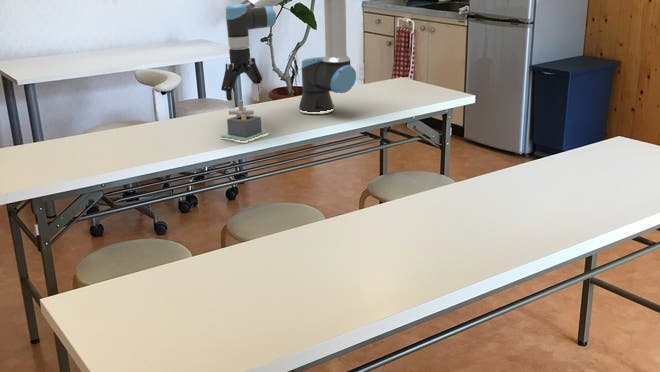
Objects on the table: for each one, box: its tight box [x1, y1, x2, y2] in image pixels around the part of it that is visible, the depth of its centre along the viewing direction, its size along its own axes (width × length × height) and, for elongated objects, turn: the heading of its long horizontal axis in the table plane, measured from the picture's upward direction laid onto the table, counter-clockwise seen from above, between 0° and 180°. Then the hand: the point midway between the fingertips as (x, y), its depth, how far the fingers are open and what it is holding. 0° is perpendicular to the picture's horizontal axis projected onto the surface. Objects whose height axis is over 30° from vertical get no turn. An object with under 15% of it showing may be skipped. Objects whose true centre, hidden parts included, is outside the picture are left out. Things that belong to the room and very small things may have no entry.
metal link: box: [226, 114, 263, 138], centre depth 268 cm, size 9×9×6 cm
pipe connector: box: [228, 99, 255, 116], centre depth 287 cm, size 10×10×10 cm
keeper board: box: [220, 114, 269, 141], centre depth 268 cm, size 14×12×9 cm
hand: (244, 104), depth 266 cm, fingers open, 13 cm apart
